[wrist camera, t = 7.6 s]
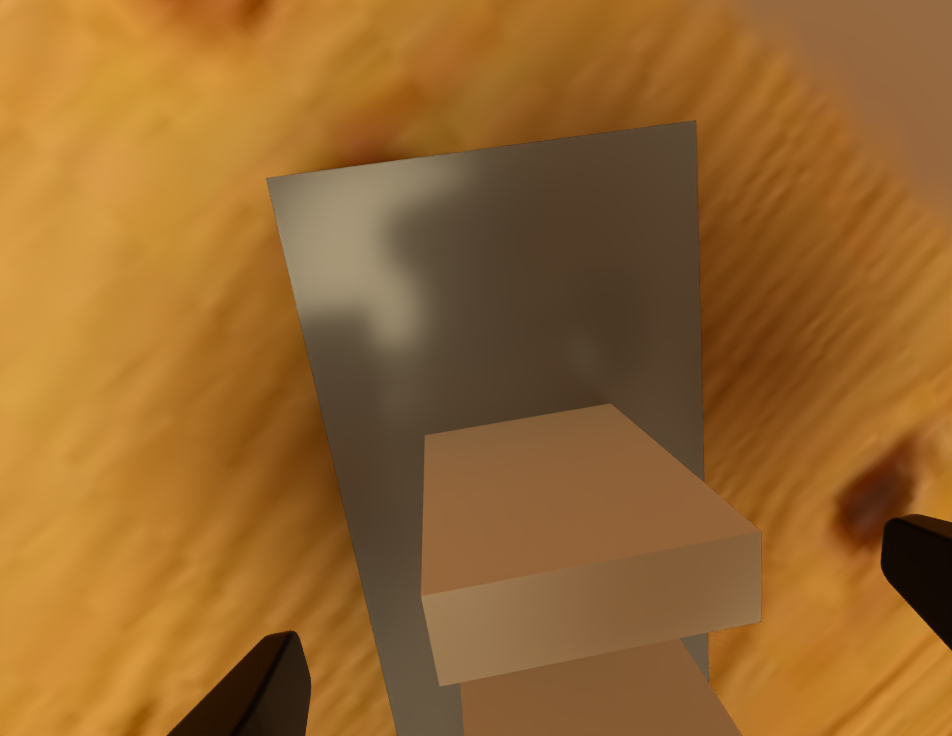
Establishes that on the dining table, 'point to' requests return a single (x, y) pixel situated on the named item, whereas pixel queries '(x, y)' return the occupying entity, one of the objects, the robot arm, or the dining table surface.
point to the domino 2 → (600, 698)
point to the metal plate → (488, 332)
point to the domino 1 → (573, 545)
